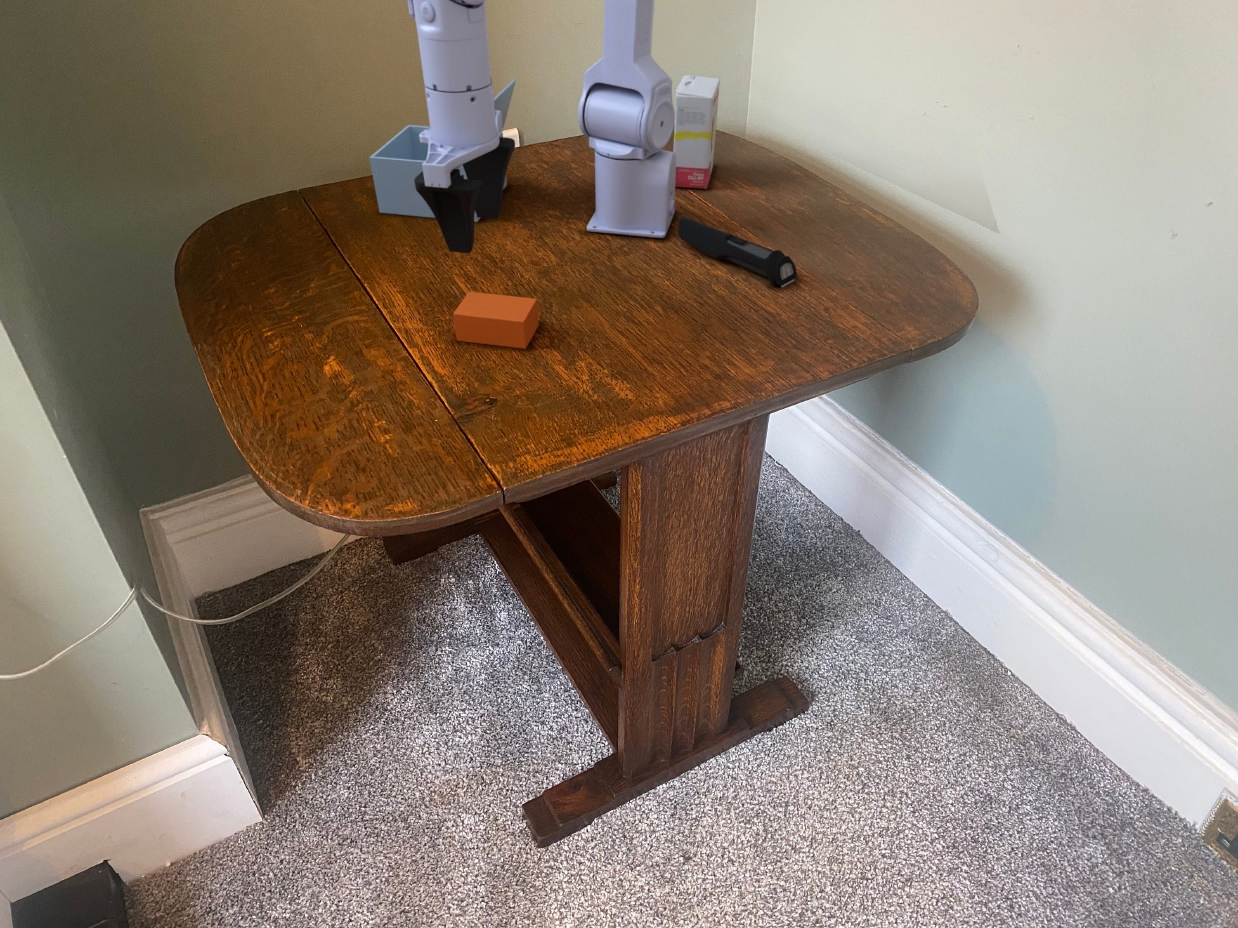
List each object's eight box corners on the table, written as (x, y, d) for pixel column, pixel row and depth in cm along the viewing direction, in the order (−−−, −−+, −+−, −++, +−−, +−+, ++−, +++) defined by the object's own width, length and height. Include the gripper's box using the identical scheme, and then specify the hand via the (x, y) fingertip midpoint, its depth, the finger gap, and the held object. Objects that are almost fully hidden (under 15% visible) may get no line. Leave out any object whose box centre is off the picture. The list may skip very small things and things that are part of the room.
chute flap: (501, 126, 107) (503, 128, 107) (469, 160, 99) (472, 161, 99) (513, 78, 103) (516, 80, 103) (482, 109, 94) (484, 110, 94)
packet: (538, 325, 85) (537, 298, 83) (525, 349, 81) (523, 321, 79) (472, 317, 86) (468, 291, 84) (456, 340, 82) (452, 313, 81)
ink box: (707, 190, 111) (714, 96, 103) (670, 187, 112) (674, 93, 104) (714, 166, 117) (721, 76, 110) (679, 164, 118) (683, 74, 111)
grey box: (507, 185, 112) (502, 132, 108) (477, 222, 103) (471, 166, 99) (416, 177, 114) (408, 125, 110) (379, 212, 105) (369, 157, 101)
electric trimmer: (691, 236, 101) (692, 210, 99) (798, 278, 92) (802, 251, 90) (670, 246, 99) (670, 220, 97) (777, 290, 90) (780, 263, 88)
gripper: (445, 57, 78) (462, 199, 87) (378, 105, 67) (405, 263, 76) (518, 62, 77) (528, 206, 86) (462, 112, 66) (479, 271, 75)
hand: (475, 233), depth 81 cm, fingers open, 7 cm apart
